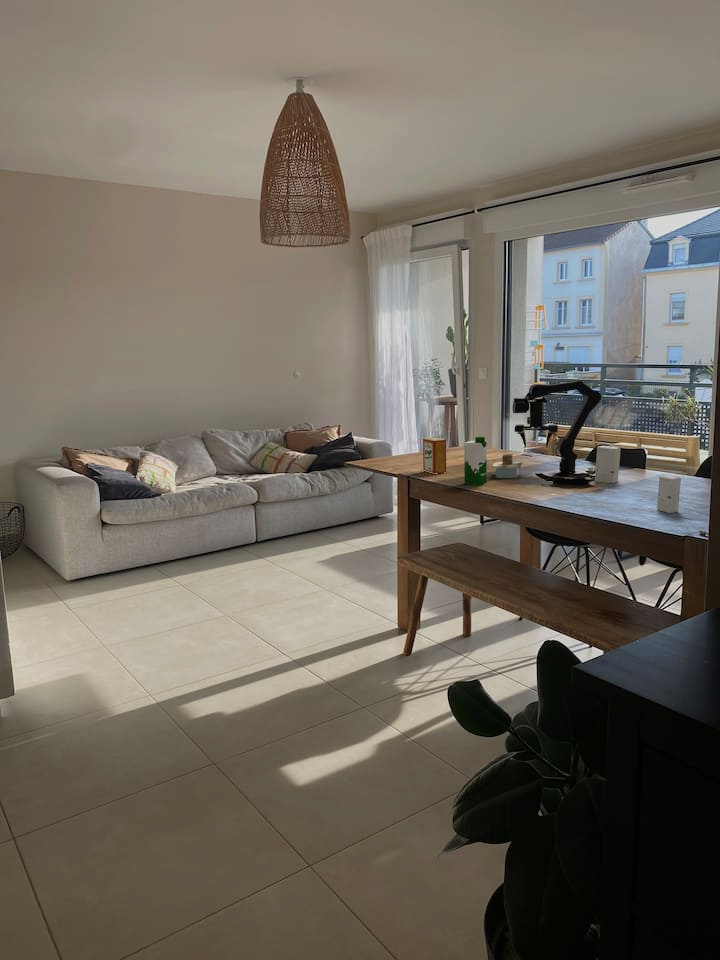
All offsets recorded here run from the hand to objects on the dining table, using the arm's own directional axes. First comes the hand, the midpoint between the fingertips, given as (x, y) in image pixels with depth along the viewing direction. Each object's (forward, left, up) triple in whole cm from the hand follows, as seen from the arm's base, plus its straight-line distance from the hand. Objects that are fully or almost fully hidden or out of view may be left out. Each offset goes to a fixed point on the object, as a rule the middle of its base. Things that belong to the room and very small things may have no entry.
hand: (536, 447), depth 338 cm
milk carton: (+24, +26, -12) cm, 37 cm away
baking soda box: (+46, +1, -12) cm, 48 cm away
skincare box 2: (-48, +69, -12) cm, 85 cm away
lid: (+12, +9, -7) cm, 16 cm away
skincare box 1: (-30, +16, -12) cm, 36 cm away
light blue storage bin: (+12, +9, -12) cm, 19 cm away
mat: (-1, +20, -12) cm, 23 cm away
